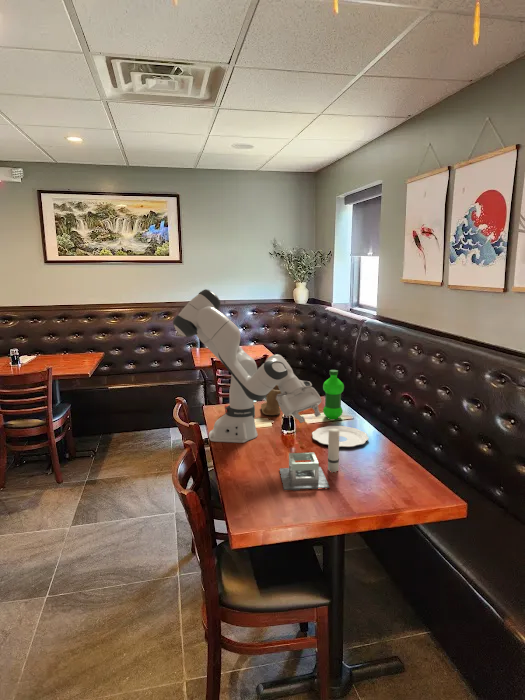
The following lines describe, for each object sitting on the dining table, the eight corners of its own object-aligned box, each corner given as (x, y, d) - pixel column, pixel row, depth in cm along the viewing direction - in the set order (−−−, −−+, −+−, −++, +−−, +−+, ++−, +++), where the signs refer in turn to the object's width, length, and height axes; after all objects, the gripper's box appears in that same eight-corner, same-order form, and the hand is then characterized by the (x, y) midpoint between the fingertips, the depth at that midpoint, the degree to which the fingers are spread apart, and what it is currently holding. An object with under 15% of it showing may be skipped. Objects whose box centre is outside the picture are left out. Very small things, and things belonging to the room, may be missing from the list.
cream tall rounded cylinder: (328, 472, 168) (329, 432, 165) (326, 467, 172) (327, 428, 169) (339, 472, 168) (340, 432, 165) (337, 467, 172) (338, 428, 169)
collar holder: (284, 490, 154) (284, 468, 153) (279, 470, 170) (279, 449, 169) (329, 489, 155) (330, 466, 154) (320, 468, 171) (321, 448, 170)
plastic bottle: (330, 413, 236) (331, 367, 231) (346, 418, 228) (348, 370, 224) (318, 417, 229) (319, 370, 225) (334, 422, 222) (335, 374, 217)
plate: (333, 454, 184) (334, 450, 184) (301, 435, 206) (301, 431, 206) (380, 443, 196) (380, 439, 195) (344, 426, 218) (344, 422, 217)
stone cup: (285, 416, 231) (285, 388, 229) (262, 417, 231) (262, 389, 228) (282, 407, 246) (282, 381, 244) (260, 408, 246) (260, 382, 243)
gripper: (278, 390, 170) (297, 421, 165) (313, 381, 184) (331, 408, 178) (270, 399, 174) (288, 429, 168) (304, 389, 188) (322, 416, 182)
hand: (310, 418), depth 174 cm, fingers open, 8 cm apart
